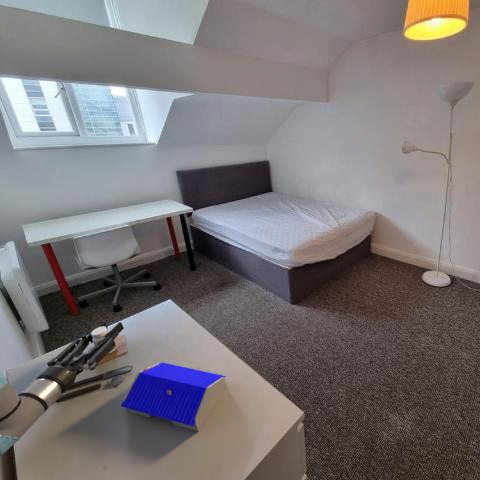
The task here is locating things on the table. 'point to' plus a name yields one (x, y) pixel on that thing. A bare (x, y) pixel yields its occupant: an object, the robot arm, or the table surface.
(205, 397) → the roof
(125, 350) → the cork coaster
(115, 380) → the cutlery
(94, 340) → the supplement bottle
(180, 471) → the table surface
